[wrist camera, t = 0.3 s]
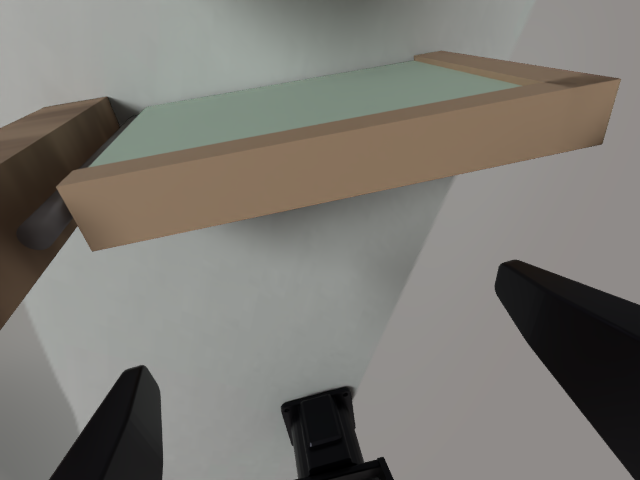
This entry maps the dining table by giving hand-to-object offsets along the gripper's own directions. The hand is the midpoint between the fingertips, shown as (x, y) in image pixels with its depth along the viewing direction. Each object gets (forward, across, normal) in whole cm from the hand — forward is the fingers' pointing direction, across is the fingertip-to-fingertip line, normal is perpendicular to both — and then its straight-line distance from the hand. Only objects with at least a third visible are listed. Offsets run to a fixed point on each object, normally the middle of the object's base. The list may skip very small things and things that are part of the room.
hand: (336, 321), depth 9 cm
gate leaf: (+15, -3, -2) cm, 15 cm away
